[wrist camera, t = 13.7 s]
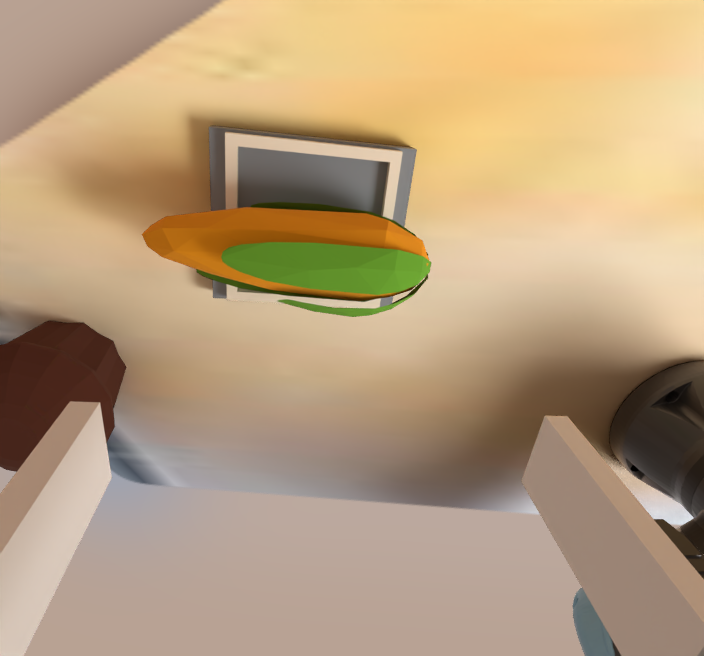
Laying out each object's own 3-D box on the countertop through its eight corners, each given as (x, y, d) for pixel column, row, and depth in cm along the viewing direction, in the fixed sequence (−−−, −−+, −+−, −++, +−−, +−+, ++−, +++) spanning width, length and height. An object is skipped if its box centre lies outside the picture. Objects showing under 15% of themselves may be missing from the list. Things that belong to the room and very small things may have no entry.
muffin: (-10, 299, 38) (-105, 362, 29) (133, 309, 39) (85, 372, 30) (17, 416, 43) (-56, 500, 34) (143, 421, 45) (104, 502, 36)
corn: (432, 338, 32) (126, 315, 29) (407, 301, 39) (158, 279, 36) (455, 231, 29) (119, 193, 26) (424, 212, 36) (156, 180, 33)
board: (388, 301, 41) (392, 312, 39) (215, 291, 39) (211, 301, 37) (412, 147, 36) (419, 150, 34) (212, 125, 34) (206, 127, 32)
